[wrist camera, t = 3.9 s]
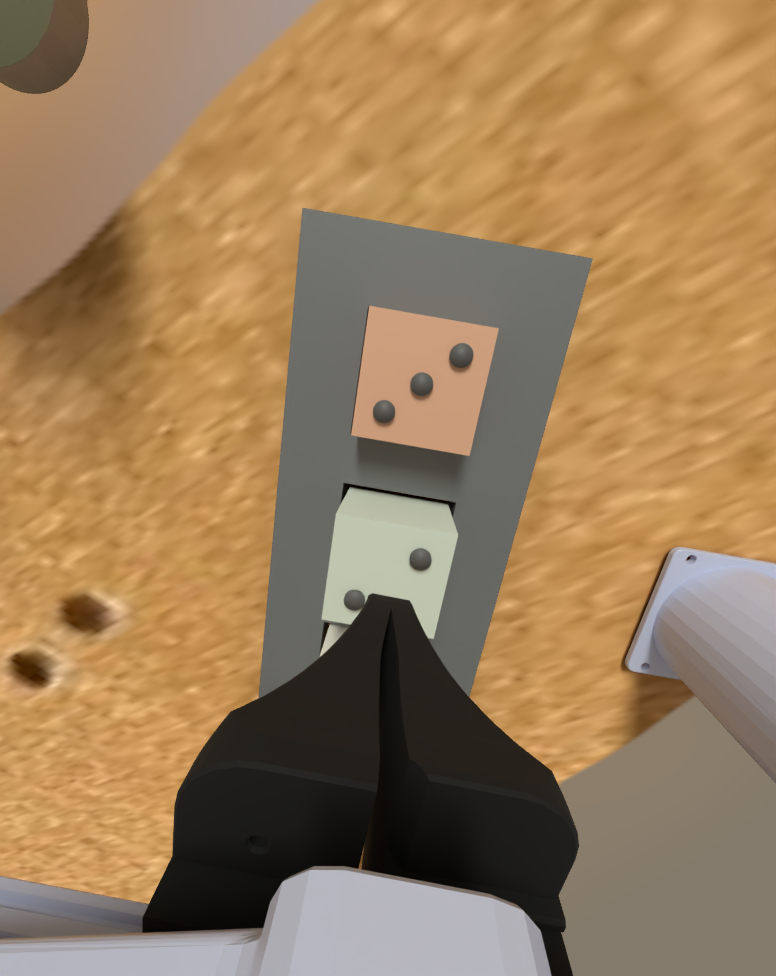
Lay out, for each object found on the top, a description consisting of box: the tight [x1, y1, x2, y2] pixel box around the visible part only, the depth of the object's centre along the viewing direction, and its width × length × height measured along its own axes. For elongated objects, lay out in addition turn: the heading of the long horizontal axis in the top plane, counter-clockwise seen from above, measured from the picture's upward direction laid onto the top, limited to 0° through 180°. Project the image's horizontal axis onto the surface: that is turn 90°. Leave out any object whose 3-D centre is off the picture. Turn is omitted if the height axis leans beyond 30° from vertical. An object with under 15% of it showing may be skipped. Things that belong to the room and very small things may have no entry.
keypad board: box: [259, 208, 592, 698], centre depth 20 cm, size 12×28×2 cm, turn 170°
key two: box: [322, 487, 458, 639], centre depth 18 cm, size 5×5×4 cm
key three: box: [351, 306, 499, 456], centre depth 17 cm, size 5×5×4 cm
